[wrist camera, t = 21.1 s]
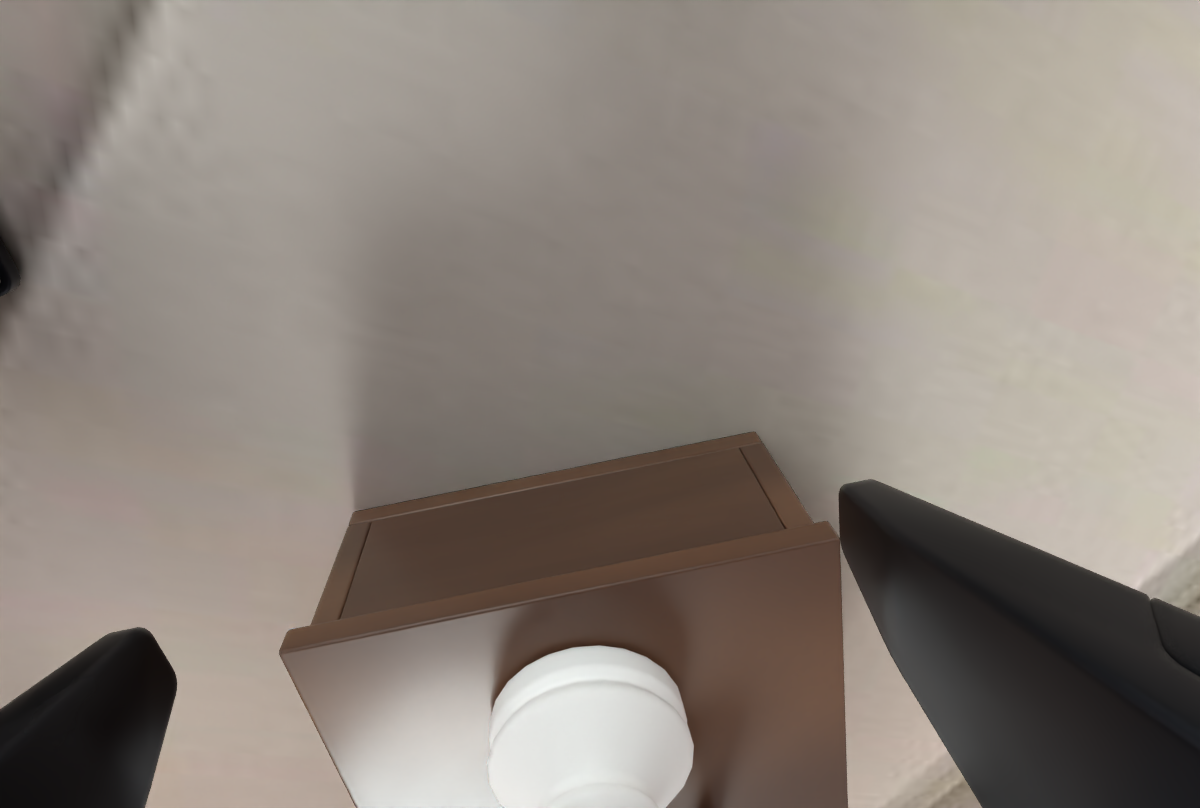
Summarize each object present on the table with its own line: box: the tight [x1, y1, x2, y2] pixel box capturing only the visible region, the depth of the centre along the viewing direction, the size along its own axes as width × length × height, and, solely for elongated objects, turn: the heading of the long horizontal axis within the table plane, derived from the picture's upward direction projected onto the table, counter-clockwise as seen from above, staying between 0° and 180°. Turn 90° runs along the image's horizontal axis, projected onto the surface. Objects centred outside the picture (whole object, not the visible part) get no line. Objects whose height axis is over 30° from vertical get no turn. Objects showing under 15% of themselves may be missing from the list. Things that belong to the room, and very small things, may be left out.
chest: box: [311, 432, 814, 625], centre depth 24 cm, size 16×14×6 cm
